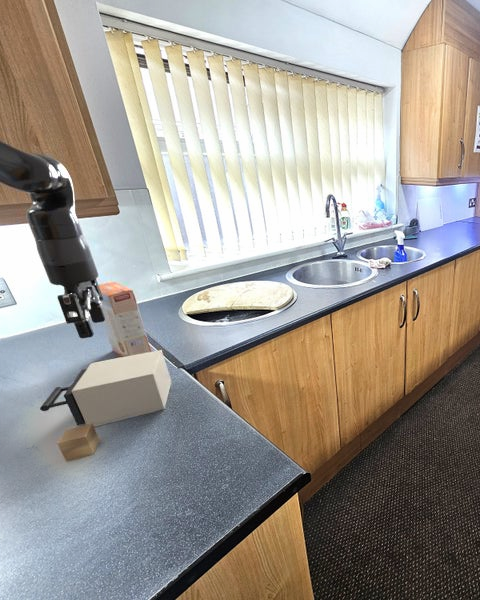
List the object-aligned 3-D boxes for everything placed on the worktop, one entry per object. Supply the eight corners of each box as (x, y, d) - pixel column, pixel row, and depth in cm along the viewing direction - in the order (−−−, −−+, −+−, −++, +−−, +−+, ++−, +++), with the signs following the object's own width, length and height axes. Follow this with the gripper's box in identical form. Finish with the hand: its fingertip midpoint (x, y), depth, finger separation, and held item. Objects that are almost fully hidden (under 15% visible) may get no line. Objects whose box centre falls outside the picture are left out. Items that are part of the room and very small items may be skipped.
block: (65, 461, 61) (56, 443, 60) (74, 446, 64) (65, 429, 63) (93, 454, 63) (85, 436, 61) (100, 440, 66) (92, 422, 64)
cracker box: (154, 355, 96) (133, 289, 89) (130, 365, 92) (105, 295, 84) (135, 342, 104) (114, 280, 96) (112, 350, 99) (88, 285, 91)
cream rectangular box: (88, 428, 69) (71, 391, 66) (104, 397, 79) (91, 362, 75) (164, 409, 75) (153, 373, 71) (171, 382, 84) (161, 349, 81)
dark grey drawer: (45, 433, 66) (29, 402, 64) (66, 403, 75) (53, 374, 72) (149, 408, 74) (139, 379, 71) (157, 383, 82) (148, 356, 80)
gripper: (57, 253, 72) (83, 320, 77) (25, 269, 60) (58, 346, 66) (101, 250, 75) (122, 314, 81) (79, 264, 63) (105, 339, 69)
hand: (93, 329), depth 73 cm, fingers open, 8 cm apart
